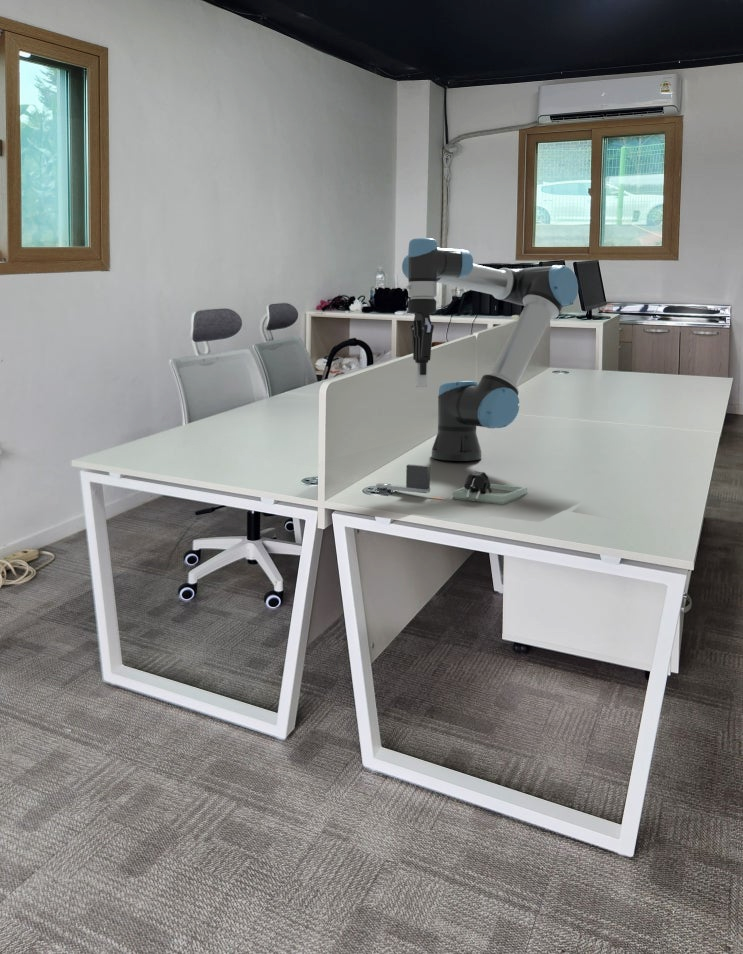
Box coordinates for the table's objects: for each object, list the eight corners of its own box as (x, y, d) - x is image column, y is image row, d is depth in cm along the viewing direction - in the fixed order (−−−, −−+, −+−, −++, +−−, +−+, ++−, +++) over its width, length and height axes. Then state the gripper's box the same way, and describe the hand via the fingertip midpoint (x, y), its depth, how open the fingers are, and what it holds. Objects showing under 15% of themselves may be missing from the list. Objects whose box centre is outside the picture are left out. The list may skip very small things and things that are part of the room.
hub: (378, 489, 233) (379, 486, 233) (401, 492, 230) (401, 488, 229) (365, 493, 227) (365, 489, 227) (388, 495, 224) (388, 492, 224)
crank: (373, 488, 227) (373, 463, 226) (380, 486, 231) (380, 461, 230) (425, 493, 220) (425, 467, 219) (431, 491, 224) (432, 465, 223)
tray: (478, 489, 234) (478, 482, 234) (527, 494, 227) (527, 487, 227) (452, 498, 221) (452, 490, 221) (503, 504, 214) (503, 496, 213)
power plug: (501, 490, 224) (487, 468, 215) (493, 516, 221) (478, 495, 212) (481, 487, 227) (466, 465, 218) (473, 513, 224) (457, 492, 215)
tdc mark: (431, 497, 222) (431, 496, 222) (445, 499, 220) (445, 498, 220) (429, 498, 221) (429, 497, 221) (443, 500, 219) (443, 499, 219)
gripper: (401, 299, 236) (401, 385, 239) (416, 297, 223) (415, 388, 227) (428, 299, 237) (427, 385, 241) (443, 297, 225) (442, 388, 229)
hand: (421, 387), depth 234 cm, fingers closed
